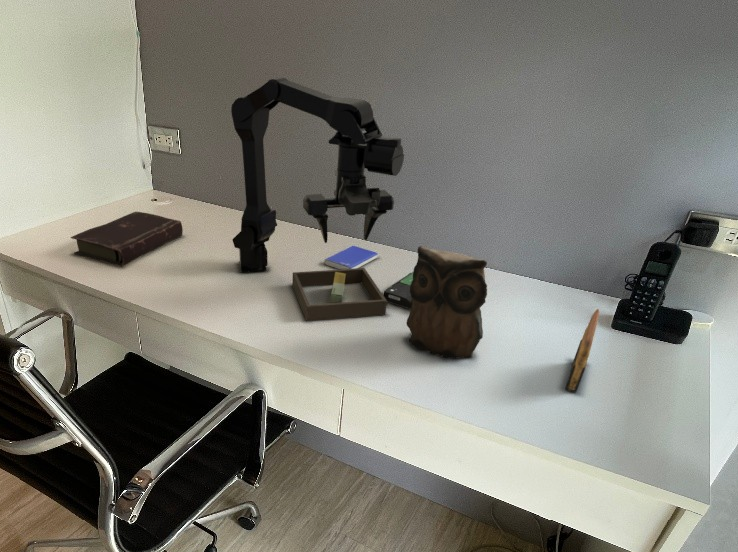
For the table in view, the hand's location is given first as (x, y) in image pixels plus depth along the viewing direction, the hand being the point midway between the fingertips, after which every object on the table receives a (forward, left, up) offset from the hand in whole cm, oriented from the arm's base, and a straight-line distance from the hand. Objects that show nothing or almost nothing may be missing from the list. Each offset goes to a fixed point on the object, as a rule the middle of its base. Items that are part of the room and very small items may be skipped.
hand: (345, 240), depth 127 cm
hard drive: (+7, +17, -13) cm, 22 cm away
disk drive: (+17, -5, -13) cm, 22 cm away
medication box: (-2, -4, -13) cm, 13 cm away
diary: (-51, +37, -13) cm, 64 cm away
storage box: (-2, -4, -12) cm, 13 cm away
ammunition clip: (+34, -41, -13) cm, 55 cm away
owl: (+15, -26, -13) cm, 32 cm away
